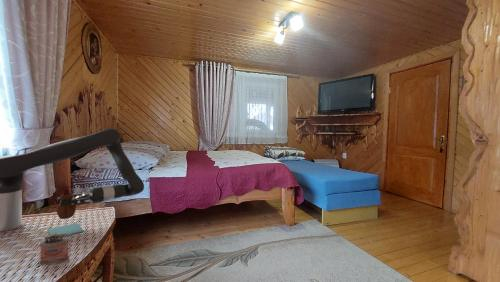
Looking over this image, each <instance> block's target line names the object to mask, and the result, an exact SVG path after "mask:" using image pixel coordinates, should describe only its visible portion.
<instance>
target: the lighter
mask: <svg viewBox="0 0 500 282" xmlns="http://www.w3.org/2000/svg"><path fill="white" fill-rule="evenodd" d="M67 237H68V236H67V234H66V233H63V234H58V235H57V234H52V235H50V234H48V235H45V236H44V240H43V241H41V242H40V243H39V246H40V260H39V265H40V264H41V266H44V265H43V264H46V265H53V264H54V263H55V264H59V263H64V262H66V261H68V260H69V258H70V256H69V241H70V239H69V238H67ZM46 265H45V266H46Z"/></svg>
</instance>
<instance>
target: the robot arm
mask: <svg viewBox="0 0 500 282" xmlns="http://www.w3.org/2000/svg"><path fill="white" fill-rule="evenodd" d="M104 146H105V148H106V149H107V150H108V152H109V154H110V155H111V157H112V158H113V160H114V163H115V165H116V167H117V169H118V172H119V173H120V176H121V178H122V179H123V180H124V181H127V183H126V184H125V183H124V184H122V183H121V184H113V185H104V186H97V187H92V188H89V192H86V191H85V192H83V191H78V192H75V193H74V192H73V193H72V194H73V198H72V199H67V200H62V201H60V200H59V198H60V197H57V201H56V202H57V203H58V204H60V206H63V205H69V204H74V205H76V206H79V205H86V204H97V203H102V202H107V201H110V200H116V199H120V198H122V197H132V196H136V195H138V194H140V193H142V192H143V191H144V190H145V184H144V183H145V182H143V180H142V179H141V177H140V176H139V175H138V174H137V173H136V170H135V169H134V167H133V165H132V164H133V163H132V162H131V161H130V159H129V158H128V157H127V154H126V153H125V151H124V150H123V147H122V143H121V133H120V132H119V131H118V130H117V129H116V128H105V129H103V130H100V131H97V132H95V133H92V134H88V135H84V136H78V137H76V138H75V137H74V138H70V139H66V140H62V141H58V142H54V143H51V144H49V145H45V146H42V147H40V148H38V149H35V150H33V151H29V152H26V153H22V154H21V153H20V154H17V155H2V156H0V232H7V231H8V232H9V231H11V230H14V229H17V228H19V227H22V225H23V222H22V221H23V200H22V198H23V197H22V196H23V195H22V194H23V193H22V191H23V188H22V187H23V181H24V172H26V171H29V170H31V169H34V168H37V167H43V166H47V165H51V164H54V163H58V162H62V161H66V160H68V159H69V160H70V159H73V158H75V157H78V156H81V155H82V154H85V153H86V152H88V151H90V150H93V149H96V148H99V147H104Z"/></svg>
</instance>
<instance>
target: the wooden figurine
mask: <svg viewBox="0 0 500 282" xmlns="http://www.w3.org/2000/svg"><path fill="white" fill-rule="evenodd" d="M58 198H59V200H60V201H62V200H67V199H72V198H73V193H71V192H70V189H69V188H67V186H63V187H62V194H61V195H60V196H59V197H58ZM76 209H77V205H74V204H69V205H63V206H60V203H58V205H57V207H56V214H57V217H58V218H59V219H61V220H66V219H70V218H72V217H73V216H74V215H75V212H76Z"/></svg>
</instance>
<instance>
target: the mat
mask: <svg viewBox="0 0 500 282" xmlns="http://www.w3.org/2000/svg"><path fill="white" fill-rule="evenodd" d="M46 231H47V233H48V235H52V234H57V235H58V234H63V233H66V234H67V236H66V237H68V236H72V235H75V234H79V233H84V231H85V230H84V229H83V228H82V227H81V225H80V224H79V223H78V222H73V223H69V224H64V225H61V226H57V227H53V228H49V229H47V230H46Z"/></svg>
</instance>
